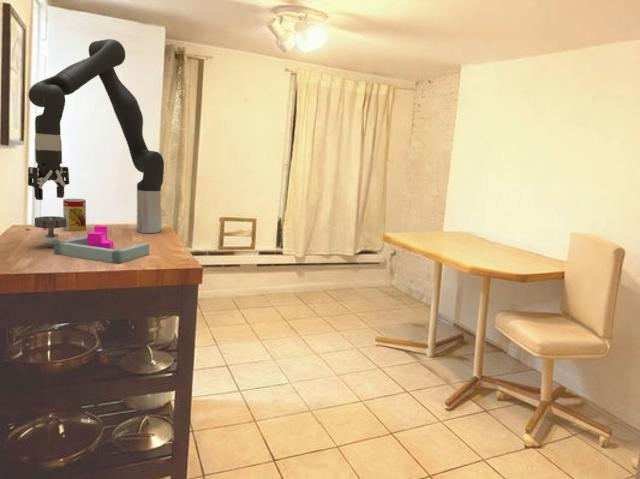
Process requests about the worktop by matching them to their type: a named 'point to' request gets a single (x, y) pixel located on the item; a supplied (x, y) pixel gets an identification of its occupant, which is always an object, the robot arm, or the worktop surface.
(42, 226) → the wheel
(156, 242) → the worktop surface
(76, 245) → the grey u-shaped bracket
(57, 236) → the axle hub
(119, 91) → the robot arm
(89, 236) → the toy block
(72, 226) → the canned food
